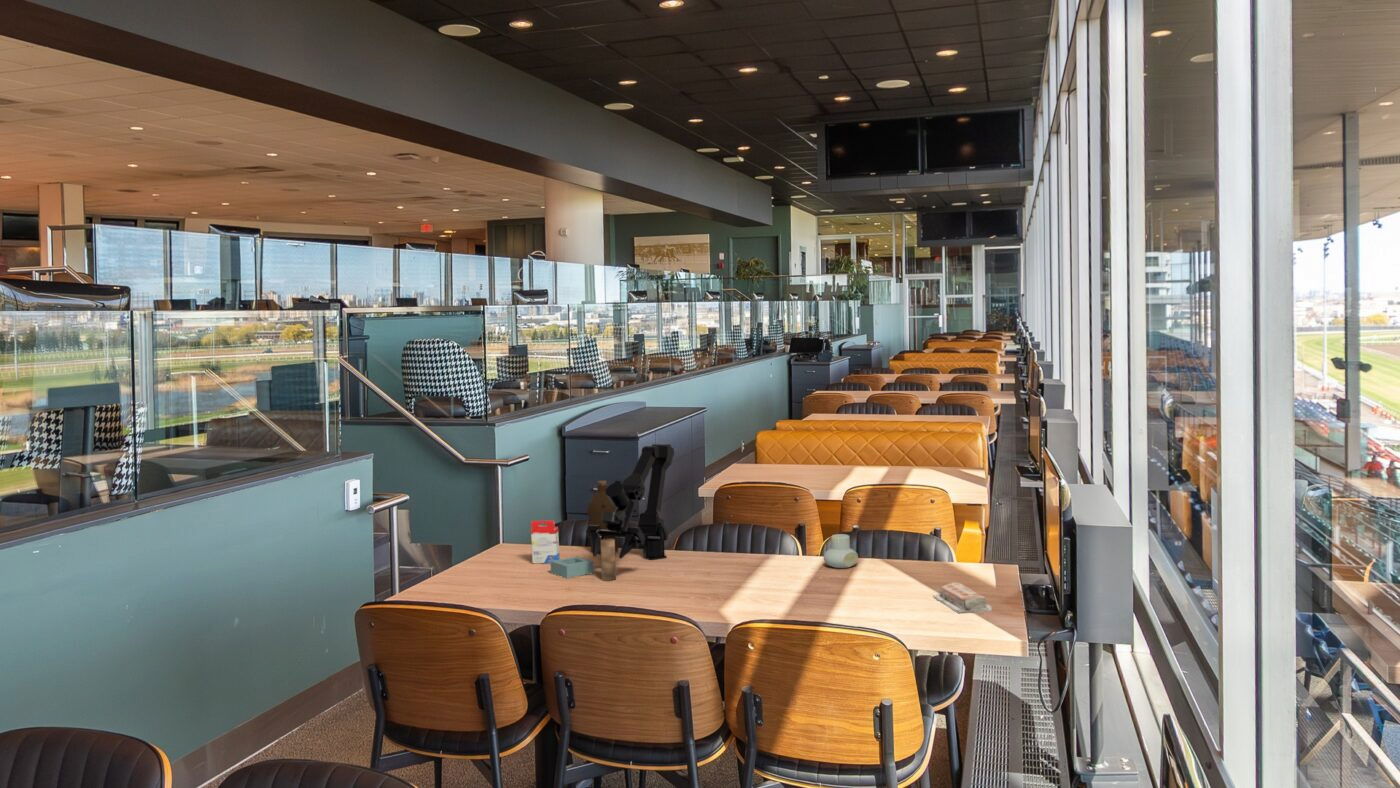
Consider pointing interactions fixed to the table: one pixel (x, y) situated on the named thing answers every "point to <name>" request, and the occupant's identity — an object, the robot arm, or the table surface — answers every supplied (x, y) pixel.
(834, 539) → the pale green rounded piece
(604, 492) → the olive oil
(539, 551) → the ink box
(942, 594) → the packaged product
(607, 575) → the peg
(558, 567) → the socket block
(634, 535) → the robot arm
